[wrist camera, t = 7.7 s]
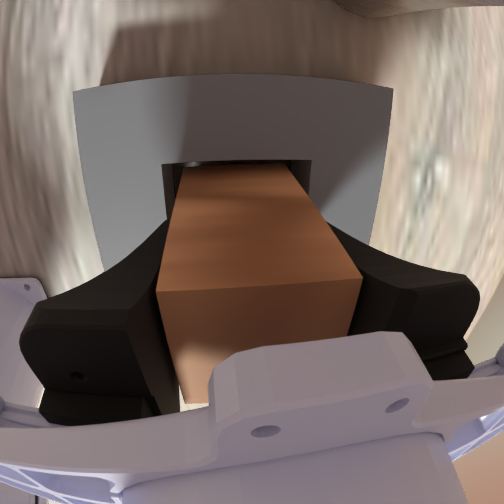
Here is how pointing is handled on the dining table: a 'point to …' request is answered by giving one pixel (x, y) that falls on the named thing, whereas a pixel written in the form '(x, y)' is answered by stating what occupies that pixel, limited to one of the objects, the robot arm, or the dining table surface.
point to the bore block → (228, 145)
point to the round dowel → (406, 6)
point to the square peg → (248, 270)
